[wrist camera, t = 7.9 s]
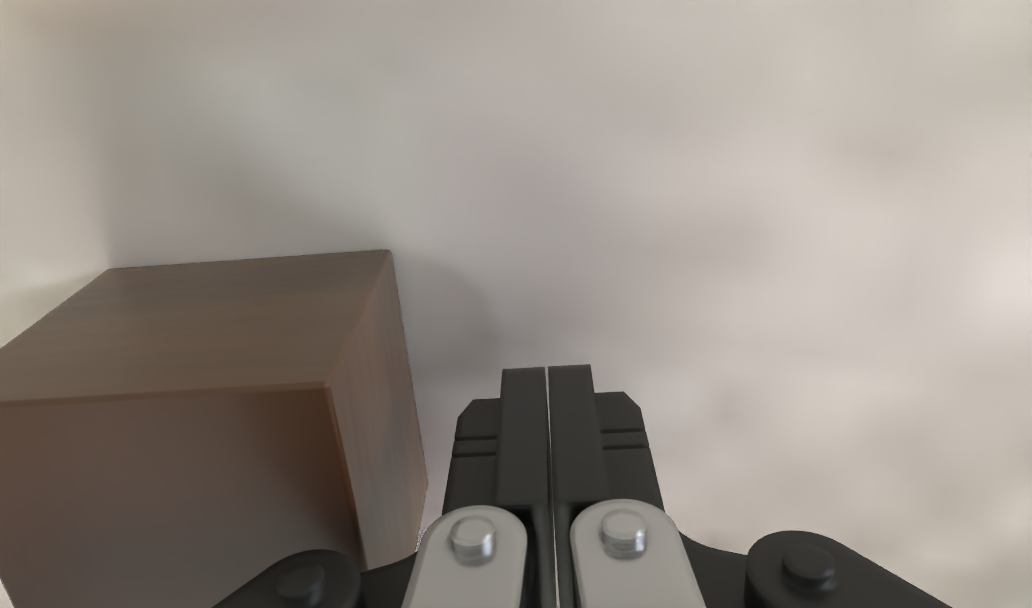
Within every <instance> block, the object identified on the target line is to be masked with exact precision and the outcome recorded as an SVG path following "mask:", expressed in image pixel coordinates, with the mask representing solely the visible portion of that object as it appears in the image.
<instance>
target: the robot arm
mask: <svg viewBox="0 0 1032 608" xmlns="http://www.w3.org/2000/svg"><path fill="white" fill-rule="evenodd" d="M548 379H549V408H550V434H549V419H548V405H547V390H546V376H545V367H534V368H516V369H503V371H502V382H501V394H500V398H495V399H476V400H472V402H471V403H470V404H469V405H468V406H467V407H466V409H465V410H464V411H463V412H462V413H461V414H460V416H459V417H458V420H457V426H456V432H455V441H454V444H453V450H452V458H451V462H450V468H449V474H448V480H447V486H446V492H445V498H444V504H443V510H442V516H441V517H440V518H438V519H437V520H436V521H435V522H433V523H432V524H431V525H430V527H429V528H428V529H427V530H426V532H425V533H424V535H423V538H422V540H421V543H420V547H419V550H418V551H417V552H415V553H413V554H412V555H410V556H408V557H406V558H404V559H402V560H400V561H397V562H394V563H391V564H388V565H385V566H382V567H378V568H375V569H371V570H368V571H365V572H361V573H360V572H359V570H358V567H357V565H356V564H355V562H354V561H353V560H352V559H351V558H349V557H348V556H347V555H345V554H343V553H341V552H337V551H334V550H327V549H314V550H307V551H303V552H299V553H295V554H293V555H290V556H287V557H285V558H283V559H281V560H279V561H277V562H276V563H274V564H273V565H271V566H270V567H268V568H267V569H265V570H264V571H263V572H261V573H260V574H258V575H257V576H255V577H254V578H253V579H251V580H250V581H248V582H247V583H246V584H244V585H243V586H241V587H240V588H238V589H237V590H236V591H234V592H233V593H231V594H230V595H229V596H227V597H226V598H224V599H223V600H222V601H220V602H219V603H217V604H216V605H214V606H213V607H212V608H557V607H556V578H555V549H554V527H555V542H556V557H557V571H558V586H559V600H560V608H952V607H950V606H948V605H947V604H945V603H943V602H941V601H940V600H938V599H936V598H935V597H933V596H931V595H929V594H928V593H926V592H924V591H922V590H921V589H919V588H917V587H915V586H914V585H912V584H910V583H909V582H907V581H905V580H903V579H902V578H900V577H898V576H896V575H895V574H893V573H891V572H889V571H888V570H886V569H884V568H883V567H881V566H879V565H877V564H876V563H874V562H872V561H870V560H869V559H867V558H865V557H863V556H862V555H860V554H858V553H857V552H855V551H853V550H851V549H850V548H848V547H846V546H844V545H843V544H841V543H839V542H837V541H835V540H833V539H831V538H828V537H825V536H823V535H819V534H815V533H812V532H805V531H781V532H776V533H772V534H769V535H767V536H764V537H763V538H761V539H759V540H758V541H757V542H756V543H755V544H754V545H753V546H752V547H751V549H750V550H749V552H748V555H743V554H738V553H733V552H728V551H723V550H718V549H714V548H710V547H707V546H705V545H702V544H699V543H697V542H695V541H693V540H691V539H690V538H688V537H687V536H685V535H683V534H682V533H681V532H680V531H679V530H678V529H677V527H676V525H675V523H674V522H673V520H672V519H671V518H670V517H669V516H668V515H667V514H666V513H665V510H664V506H663V502H662V498H661V493H660V489H659V485H658V481H657V477H656V472H655V468H654V464H653V460H652V456H651V451H650V448H649V443H648V439H647V435H646V432H645V426H644V422H643V418H642V413H641V409H640V407H639V406H638V405H637V404H636V403H635V402H634V401H633V400H632V399H631V398H630V397H629V396H628V395H627V394H626V393H625V392H605V393H594V387H593V380H592V373H591V366H590V364H586V365H568V366H550V367H548ZM550 436H551V449H550ZM551 465H552V467H551ZM553 513H554V521H553Z"/></svg>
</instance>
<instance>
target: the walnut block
mask: <svg viewBox="0 0 1032 608" xmlns="http://www.w3.org/2000/svg"><path fill="white" fill-rule="evenodd" d="M427 486H428V479H427V473H426V467H425V460H424V454H423V448H422V441H421V435H420V429H419V423H418V416H417V410H416V404H415V398H414V391H413V385H412V379H411V372H410V366H409V360H408V354H407V347H406V341H405V335H404V328H403V322H402V316H401V310H400V303H399V297H398V291H397V284H396V278H395V272H394V266H393V259H392V253H391V252H390V250H373V251H359V252H345V253H331V254H316V255H302V256H288V257H274V258H259V259H245V260H231V261H217V262H203V263H188V264H174V265H160V266H146V267H131V268H117V269H108V270H106V271H105V272H104V273H102V274H101V275H100V276H98V277H97V278H96V279H94V280H93V281H92V282H90V283H89V284H87V285H86V286H85V287H83V288H82V289H81V290H79V291H78V292H77V293H75V294H74V295H73V296H71V297H70V298H68V299H67V300H66V301H64V302H63V303H62V304H60V305H59V306H58V307H56V308H55V309H54V310H52V311H51V312H49V313H48V314H47V315H45V316H44V317H43V318H41V319H40V320H39V321H37V322H36V323H35V324H33V325H32V326H30V327H29V328H28V329H26V330H25V331H24V332H22V333H21V334H20V335H18V336H17V337H16V338H14V339H13V340H12V341H10V342H9V343H7V344H6V345H5V346H3V347H2V348H1V349H0V580H1V582H2V584H3V586H4V588H5V590H6V592H7V594H8V596H9V598H10V600H11V602H12V604H13V606H14V608H212V607H213V606H214V605H216V604H217V603H219V602H220V601H222V600H223V599H224V598H226V597H227V596H229V595H230V594H231V593H233V592H234V591H236V590H237V589H238V588H240V587H241V586H243V585H244V584H246V583H247V582H248V581H250V580H251V579H253V578H254V577H255V576H257V575H258V574H260V573H261V572H263V571H264V570H265V569H267V568H268V567H270V566H271V565H273V564H274V563H276V562H277V561H279V560H281V559H283V558H285V557H287V556H290V555H293V554H295V553H299V552H303V551H307V550H314V549H327V550H334V551H337V552H341V553H343V554H345V555H347V556H348V557H349V558H351V559H352V560H353V561H354V562H355V564H356V565H357V567H358V570H359V572H360V573H361V572H365V571H368V570H371V569H375V568H378V567H382V566H385V565H388V564H391V563H394V562H397V561H400V560H402V559H404V558H406V557H408V556H410V555H412V554H413V553H415V549H416V544H417V539H418V533H419V528H420V523H421V518H422V512H423V507H424V502H425V497H426V491H427Z"/></svg>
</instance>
